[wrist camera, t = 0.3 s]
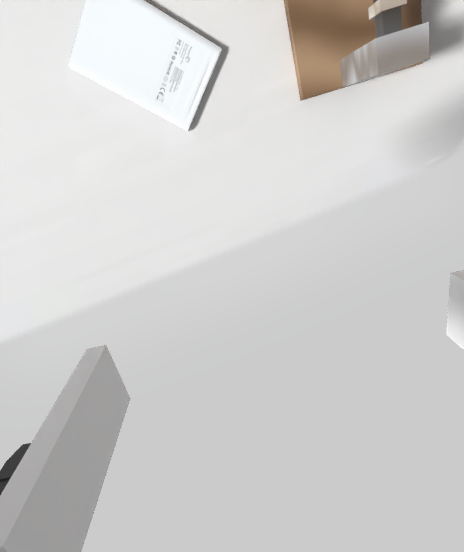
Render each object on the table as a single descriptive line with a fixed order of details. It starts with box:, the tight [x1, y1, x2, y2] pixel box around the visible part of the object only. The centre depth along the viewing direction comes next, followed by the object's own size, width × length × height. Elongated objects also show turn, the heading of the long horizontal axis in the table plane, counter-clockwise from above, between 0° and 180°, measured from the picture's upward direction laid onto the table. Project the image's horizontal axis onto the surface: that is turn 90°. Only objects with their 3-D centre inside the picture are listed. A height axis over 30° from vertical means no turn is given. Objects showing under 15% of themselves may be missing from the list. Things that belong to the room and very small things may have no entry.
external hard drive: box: [68, 0, 222, 131], centre depth 32 cm, size 2×8×12 cm
